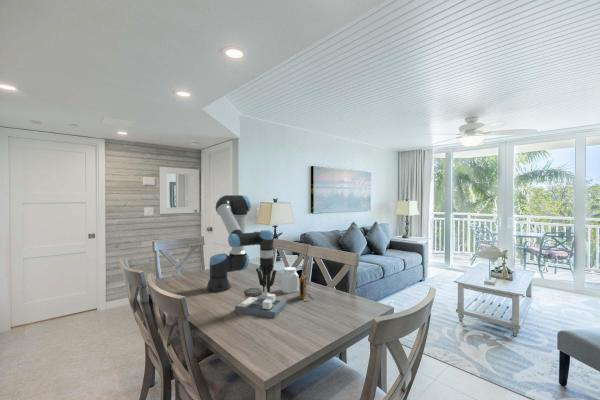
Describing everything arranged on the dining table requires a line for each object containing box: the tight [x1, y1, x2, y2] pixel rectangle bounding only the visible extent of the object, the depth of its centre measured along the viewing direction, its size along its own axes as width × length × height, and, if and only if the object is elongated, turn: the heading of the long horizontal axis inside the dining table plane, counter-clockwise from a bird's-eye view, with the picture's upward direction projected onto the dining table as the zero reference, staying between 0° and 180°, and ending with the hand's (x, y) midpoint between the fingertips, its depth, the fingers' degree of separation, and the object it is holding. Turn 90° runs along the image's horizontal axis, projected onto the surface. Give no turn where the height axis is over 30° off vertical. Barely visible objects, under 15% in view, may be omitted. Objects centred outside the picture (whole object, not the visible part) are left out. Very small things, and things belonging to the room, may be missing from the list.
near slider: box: [262, 299, 272, 309], centre depth 151 cm, size 4×4×4 cm
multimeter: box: [299, 264, 315, 303], centre depth 175 cm, size 15×10×20 cm
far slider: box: [266, 293, 277, 303], centre depth 160 cm, size 4×4×4 cm
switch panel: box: [234, 296, 287, 319], centre depth 157 cm, size 24×16×3 cm, turn 71°
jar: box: [281, 266, 300, 294], centre depth 189 cm, size 12×10×15 cm
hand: (266, 297), depth 161 cm, fingers closed
